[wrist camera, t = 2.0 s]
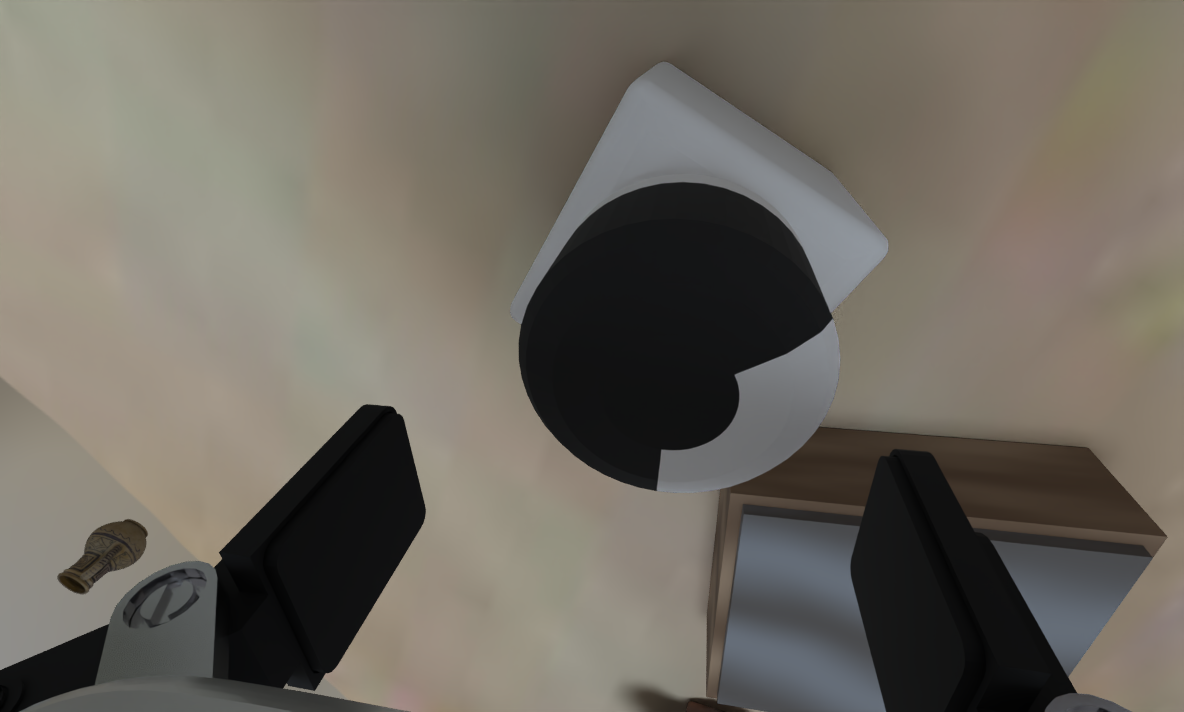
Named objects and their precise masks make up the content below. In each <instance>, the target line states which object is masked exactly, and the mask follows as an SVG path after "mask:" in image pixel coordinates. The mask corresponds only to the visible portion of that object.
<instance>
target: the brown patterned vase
mask: <svg viewBox="0 0 1184 712" xmlns="http://www.w3.org/2000/svg"><path fill="white" fill-rule="evenodd" d="M147 536H148V532H147V530H146V528H145V527H144V526H143V525H141V524H140V523H138V522H136V521H134V520H131V519H126V520H124V521H118V522H112V523H108V524H105V525H103V526H101V527H99V528H97V529H96V530H95V531H93V532H92V533H91V535H90V536H89V538H88V539H87V541H86V544H85V549H84V555H83V556H82V557H81V558H80V559H79V560H78V561H77V562H76V563H75V564H74V565H72V566H71V567H70V568H68V569H65V570H64V571H63V572H62V573H59V574H58V576H57V579H58V581H59V582H60V583H61V584H62V585H63V586H64V587H65V588H67V589H68V590H70V591H72V592H74V593H77V594H82V595H83V594H86V593H88V592H89V589H90V588H92V587H93V584H94V583H95V582H97V581H98V580H99V579H100V578H101V577H103V576H104V575H105V574H106V573H108V572H112V571H117V570H121V569H124V568H127V567H129V566H131V565H132V564H134V563H135V562H137V561H138V560H139V559H140V558H141V556H142V555H143V553H144V551H145V548H146V537H147Z"/></svg>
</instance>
